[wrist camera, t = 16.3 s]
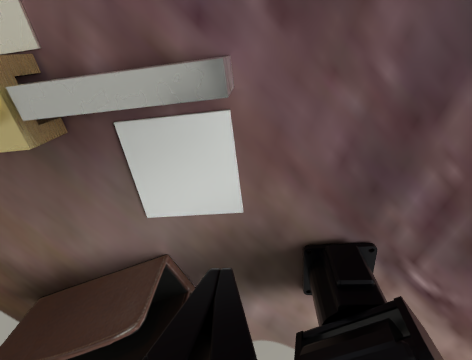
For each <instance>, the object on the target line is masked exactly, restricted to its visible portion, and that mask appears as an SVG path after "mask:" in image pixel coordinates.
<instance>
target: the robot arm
mask: <svg viewBox="0 0 472 360" xmlns="http://www.w3.org/2000/svg"><path fill="white" fill-rule="evenodd" d="M371 248H372V249H371ZM309 250H310V251H309ZM376 255H377V248H376V246H375V245H374V244H373V243H363V244H335V245H308V246H305V247H304V249H303V291H304V294H306V295H312V296H313V301H314V305H315V310H316V314H317V319H318V324H319V327H316V328H313V329H310V330H307V331H304V332H303V331H301V332H298V333H296V344H295V357H294V360H443V358H442V356H441V355H440V353H439V351H438V350H437V348H436V346H435V345H434V343H433V341H432V340H431V338H430V337H429V335H428V333H427V332H426V330H425V329H424V327H423V326H422V324H421V323H420V322H419V320H418V319H417V317H416V316H415V315H414V313H413V312H412V311H411V309H410V308H409V306H408V305H407V304H406V302H405V301H404V300H403V298H402V297H401V296H400V297H397V298H394V300H393V301H390V302H387V301H386V299H385V297H384V295H383V293H382V291H381V289H380V287H379V285H378V283H377V281H376V279H375V277H374V275H373V270H374V265H375V260H376ZM142 360H257V358H256V354H255V350H254V346H253V343H252V339H251V335H250V332H249V328H248V324H247V321H246V317H245V313H244V310H243V306H242V303H241V299H240V295H239V292H238V288H237V284H236V281H235V277H234V273H233V270H232V268H222V269H219V268H214V269H209V270H208V272H207V273H206V275H205V276H204V277H203V279H202V280H201V281H200V283H199V284H198V285H197V287H196V288H195V289H194V291H193V292H192V293H191V295H190V296H189V297H188V299H187V300H186V302H185V303H184V304H183V306H182V307H181V308H180V310H179V311H178V312H177V314H176V315H175V316H174V318H173V319H172V320H171V322H170V323H169V324H168V326H167V327H166V329H165V330H164V331H163V333H162V334H161V335H160V337H159V338H158V339H157V341H156V342H155V343H154V345H153V346H152V347H151V349H150V350H149V352H148V353H147V356H145V357H144V358H143V359H142Z"/></svg>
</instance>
